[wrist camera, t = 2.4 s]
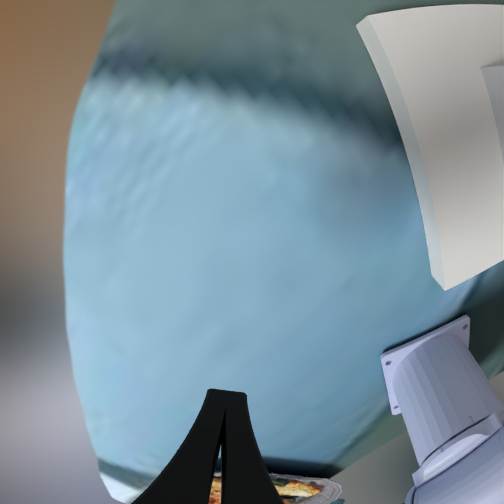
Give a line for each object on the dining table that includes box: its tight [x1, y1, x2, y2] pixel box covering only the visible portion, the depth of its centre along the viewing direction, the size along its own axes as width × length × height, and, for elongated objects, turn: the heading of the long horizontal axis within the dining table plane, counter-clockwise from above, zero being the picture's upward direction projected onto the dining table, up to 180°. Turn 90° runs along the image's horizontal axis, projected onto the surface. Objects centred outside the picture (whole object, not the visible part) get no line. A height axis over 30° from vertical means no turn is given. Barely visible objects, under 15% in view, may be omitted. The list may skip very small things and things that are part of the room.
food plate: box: [209, 470, 342, 504], centre depth 32 cm, size 25×23×4 cm
